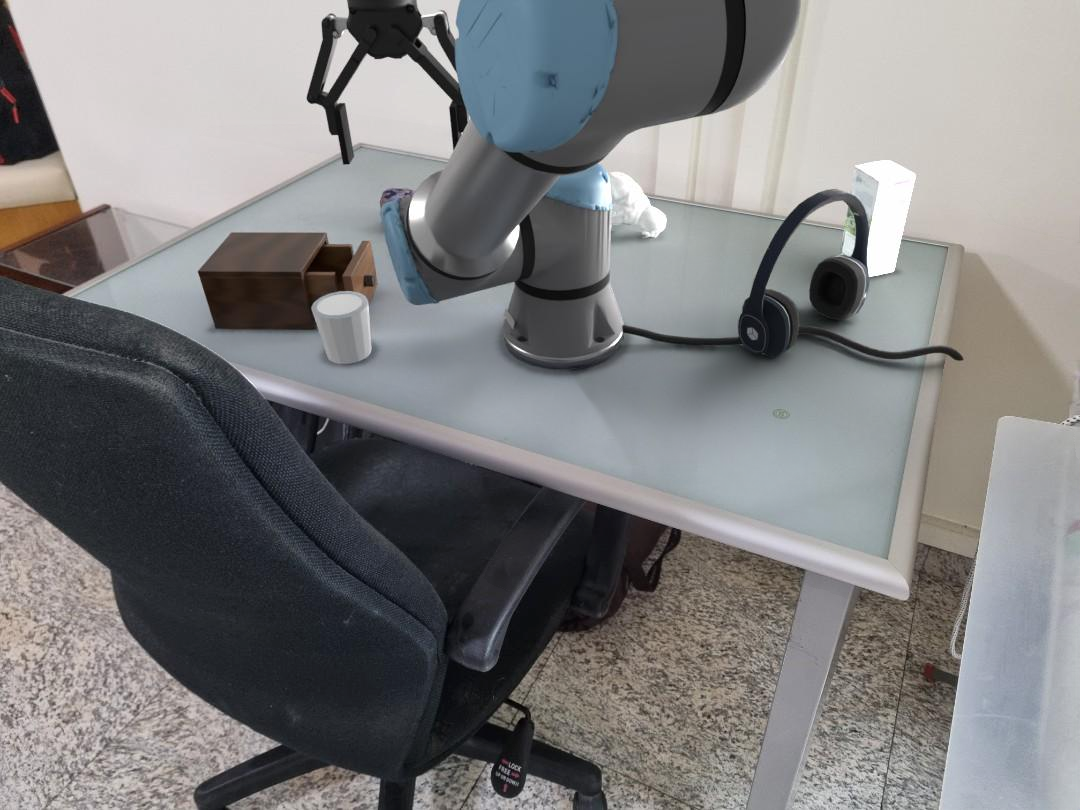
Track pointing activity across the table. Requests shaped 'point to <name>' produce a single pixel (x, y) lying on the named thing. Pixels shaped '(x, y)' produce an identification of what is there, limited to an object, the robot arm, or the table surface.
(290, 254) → the cabinet
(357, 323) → the shot glass
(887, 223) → the syrup box
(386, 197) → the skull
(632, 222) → the white figurine
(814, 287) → the headphones
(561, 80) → the robot arm
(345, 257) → the drawer
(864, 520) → the table surface
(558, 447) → the table surface
